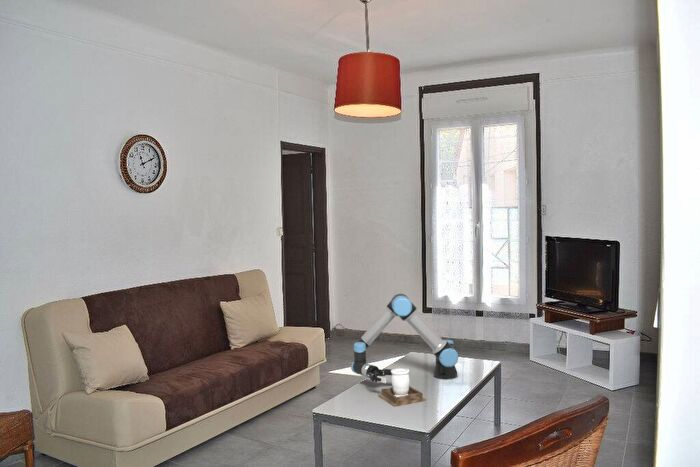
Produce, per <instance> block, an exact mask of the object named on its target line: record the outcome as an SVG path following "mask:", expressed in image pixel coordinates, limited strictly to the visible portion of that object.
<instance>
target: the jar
mask: <svg viewBox="0 0 700 467" xmlns="http://www.w3.org/2000/svg"><path fill="white" fill-rule="evenodd" d="M391 373H392V375H391V380H390V381H391V386H392V387H393V391H394V393H395V394H394V396H396V397H399V396H405V395H408V391H409V386H410V385H411V382H410V374H409V373H410V369H409V368H406V367H396V368H393V369H391ZM392 387H391V388H392Z"/></svg>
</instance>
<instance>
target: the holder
mask: <svg viewBox="0 0 700 467" xmlns="http://www.w3.org/2000/svg"><path fill="white" fill-rule="evenodd" d="M380 392H381V393H379V394H378V395H377V396H378V398H380V399H382V400H384V401H385V402H386V403H388V404H390V405H391V406H392V407H394V408H395V407H400V406H406V405H412V404H417V403H420V402H421V403H422V402H426V401H427V399H426V397H425V396H423V395H424V394H423V392H422V391H419V390H418V389H415V388H413V386H410V385H409V391H408V395H405V396H399V397H396V396H394V394H395V393H394V391H393V387H387V388H381V391H380Z"/></svg>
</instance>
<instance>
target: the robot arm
mask: <svg viewBox="0 0 700 467" xmlns="http://www.w3.org/2000/svg"><path fill="white" fill-rule="evenodd" d="M417 310H418V307H416V306H415V305H414V303H413V302H412V301H411V300H410V298H409V297H408V296H407V295H406V294H404V293H397V294H395V295H394V296H393V297H392V298H391V300H390V301H389V302H388V304H387V305H386V308H385V310H384V311H382V313H381V314H379V316H378V317H377V319H376V320H375V321H374V322H373V323H372V324H371V326H369V328H368V329H367V330H366V331H365V332H364V334H362V336H361V337H359V339H358V340H357V341H356V342H354V344H353V360H354V361H352V362H351V366H350V370H351V371H352V372H353V373H355V374H356V375H361V376H364V377H366V378H369V380H370V381H372V382H375V383H378V382H380V383H383V384H386V383H387V378H386V377H385V376H392V373H391V370H392V369H389V368H383V369H380V368H379V367H378V366H377V365H373V364H371V363H370V364H369V363H367V349H368V348H369V347H370V346H371V344H372V343H373V342H374V341H375V340H376V339H377V338H378V337H379V336H380V335H381V334H382V332H383V331H384V330H385V329H386V327H387V326H388V325H389V324H390V323H391V322H392V321H393V319H395V317H399V318H400V320H402V321H403V322H407V324H409V325H410V326H411V328H412V329H413V330H414V331H415V333H417V334H418V335H419V336H420V338H422V340H424V342H425V344H427V346H429V347H430V349H431V351H432V355H434V356H435V366H434V369H433V377H434V378H436V379H440V380H451V379H455V378H457V377H458V371H457V368H456V364H457V363H458V360H459V354H458V352H457V350H456V349H455V348H454V345H455V344H454V341H453V340H452V339H443V338H441V337H440V335H439V334H437V332H436V331H435V330H434V329H433V328H432V327H431V325H429V324H428V322H427V321H426V320H425V319H424V317H422V316H421V315H420V313H419V312H418V311H417Z"/></svg>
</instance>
